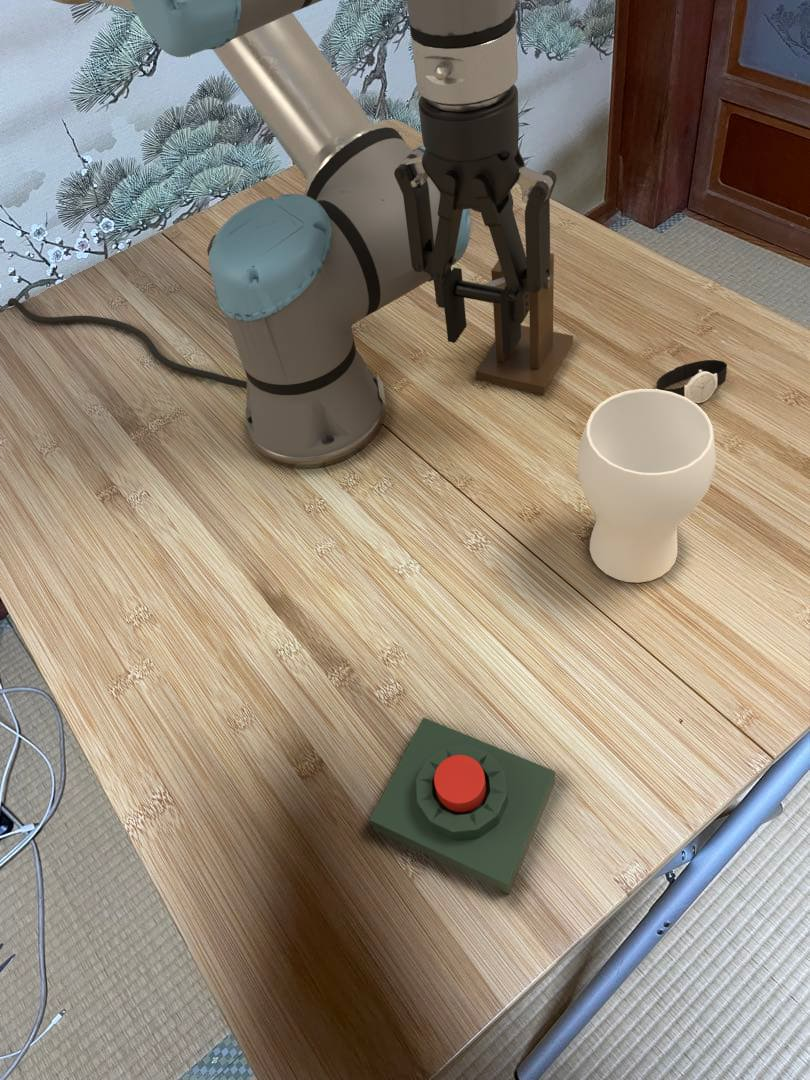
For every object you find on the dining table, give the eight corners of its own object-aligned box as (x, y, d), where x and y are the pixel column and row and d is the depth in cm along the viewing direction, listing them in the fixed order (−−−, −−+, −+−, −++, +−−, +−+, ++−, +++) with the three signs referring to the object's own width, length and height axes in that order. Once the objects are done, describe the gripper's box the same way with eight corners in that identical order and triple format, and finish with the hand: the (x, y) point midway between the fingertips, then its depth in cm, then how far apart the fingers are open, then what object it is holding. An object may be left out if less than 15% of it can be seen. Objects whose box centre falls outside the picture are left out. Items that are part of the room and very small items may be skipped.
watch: (669, 417, 85) (674, 390, 83) (644, 390, 88) (647, 363, 85) (734, 391, 86) (741, 364, 84) (708, 365, 89) (713, 338, 87)
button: (428, 800, 60) (425, 791, 59) (449, 757, 62) (447, 747, 61) (473, 820, 59) (472, 811, 57) (493, 776, 61) (492, 766, 59)
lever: (501, 311, 75) (505, 284, 74) (451, 302, 77) (454, 275, 76) (548, 291, 86) (552, 267, 85) (503, 283, 88) (506, 259, 87)
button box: (373, 830, 63) (365, 811, 60) (426, 729, 67) (420, 706, 64) (509, 895, 59) (507, 878, 56) (555, 782, 63) (555, 761, 60)
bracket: (543, 395, 90) (543, 294, 80) (476, 379, 93) (467, 280, 83) (573, 344, 94) (576, 243, 84) (507, 330, 97) (503, 231, 87)
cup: (667, 614, 71) (691, 499, 59) (553, 569, 76) (555, 454, 64) (711, 527, 76) (741, 405, 64) (602, 490, 81) (611, 369, 69)
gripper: (339, 102, 64) (384, 345, 82) (565, 124, 57) (560, 384, 75) (384, 59, 68) (418, 300, 86) (601, 75, 61) (587, 333, 79)
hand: (484, 339), depth 80 cm, fingers closed on lever, 5 cm apart
